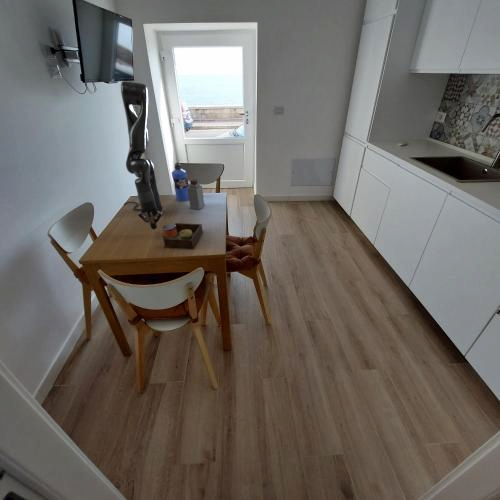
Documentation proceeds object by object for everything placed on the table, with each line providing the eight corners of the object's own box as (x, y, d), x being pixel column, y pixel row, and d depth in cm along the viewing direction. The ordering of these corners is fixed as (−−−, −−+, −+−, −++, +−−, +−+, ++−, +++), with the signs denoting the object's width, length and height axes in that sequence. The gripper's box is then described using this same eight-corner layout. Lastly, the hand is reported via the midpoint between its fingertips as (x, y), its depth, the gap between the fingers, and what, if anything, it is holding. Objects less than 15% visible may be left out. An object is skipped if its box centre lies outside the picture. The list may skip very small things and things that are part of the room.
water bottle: (174, 197, 192) (168, 162, 178) (187, 195, 196) (181, 160, 182) (178, 202, 186) (172, 165, 172) (191, 199, 189) (186, 163, 175)
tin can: (162, 238, 147) (160, 229, 144) (167, 231, 153) (165, 223, 149) (174, 239, 146) (172, 230, 143) (179, 232, 152) (177, 223, 148)
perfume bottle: (204, 205, 181) (201, 178, 171) (199, 209, 176) (195, 182, 166) (195, 204, 183) (191, 177, 173) (190, 208, 178) (186, 181, 168)
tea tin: (180, 246, 140) (177, 234, 136) (184, 240, 145) (181, 228, 141) (191, 247, 139) (189, 235, 135) (195, 240, 144) (193, 229, 140)
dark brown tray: (165, 247, 139) (163, 239, 137) (177, 230, 153) (175, 222, 151) (193, 248, 138) (191, 240, 135) (202, 232, 151) (201, 224, 149)
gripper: (161, 195, 140) (168, 225, 150) (136, 196, 141) (144, 225, 150) (157, 201, 134) (164, 231, 144) (130, 202, 135) (139, 232, 144)
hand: (154, 228), depth 147 cm, fingers closed
